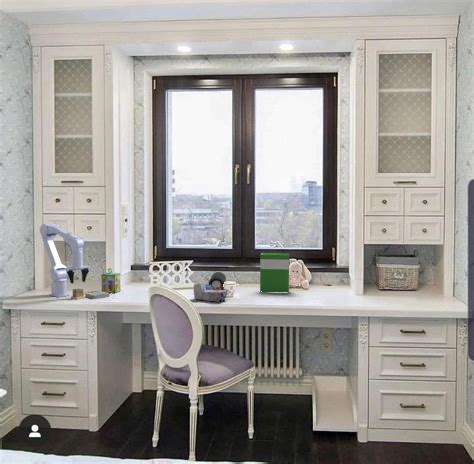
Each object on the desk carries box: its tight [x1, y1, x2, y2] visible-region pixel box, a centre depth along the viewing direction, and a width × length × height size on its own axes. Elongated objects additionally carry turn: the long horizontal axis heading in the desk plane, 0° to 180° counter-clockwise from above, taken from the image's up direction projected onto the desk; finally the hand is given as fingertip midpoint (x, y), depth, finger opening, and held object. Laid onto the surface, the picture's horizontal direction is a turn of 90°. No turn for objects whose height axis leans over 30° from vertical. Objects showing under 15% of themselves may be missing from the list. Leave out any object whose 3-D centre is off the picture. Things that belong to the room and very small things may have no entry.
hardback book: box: [259, 252, 290, 293], centre depth 365 cm, size 18×7×24 cm, turn 83°
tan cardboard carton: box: [70, 288, 86, 301], centre depth 340 cm, size 7×5×6 cm
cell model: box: [192, 281, 230, 303], centre depth 338 cm, size 13×11×20 cm
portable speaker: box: [208, 271, 227, 289], centre depth 373 cm, size 26×10×10 cm, turn 178°
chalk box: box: [100, 267, 122, 294], centre depth 362 cm, size 9×9×15 cm
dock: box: [84, 290, 110, 300], centre depth 346 cm, size 10×10×2 cm
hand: (77, 282), depth 340 cm, fingers open, 7 cm apart
